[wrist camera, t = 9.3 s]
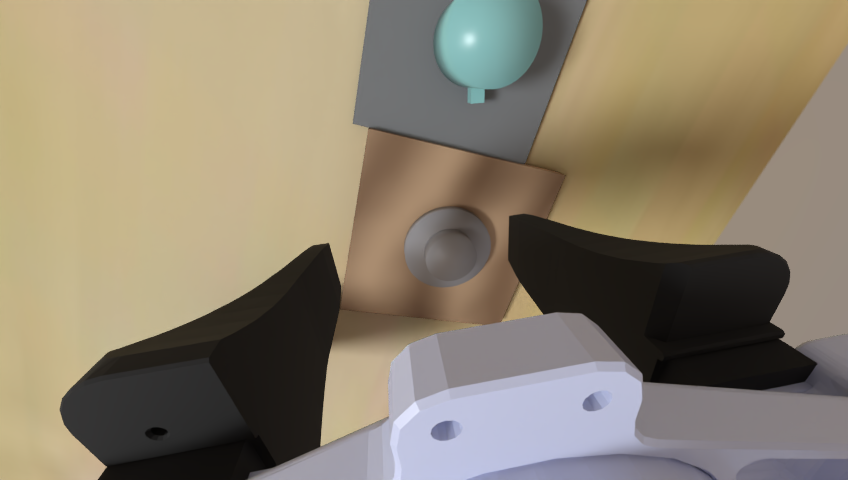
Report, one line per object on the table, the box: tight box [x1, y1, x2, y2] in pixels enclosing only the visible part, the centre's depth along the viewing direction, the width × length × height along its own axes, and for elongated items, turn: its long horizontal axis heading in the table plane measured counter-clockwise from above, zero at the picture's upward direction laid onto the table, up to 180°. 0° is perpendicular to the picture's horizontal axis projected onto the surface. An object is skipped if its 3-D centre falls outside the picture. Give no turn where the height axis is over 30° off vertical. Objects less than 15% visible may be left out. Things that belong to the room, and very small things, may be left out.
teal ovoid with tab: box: [433, 0, 543, 104], centre depth 16 cm, size 6×5×4 cm
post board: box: [340, 128, 566, 325], centre depth 23 cm, size 14×14×3 cm
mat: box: [353, 0, 587, 165], centre depth 18 cm, size 12×12×1 cm
